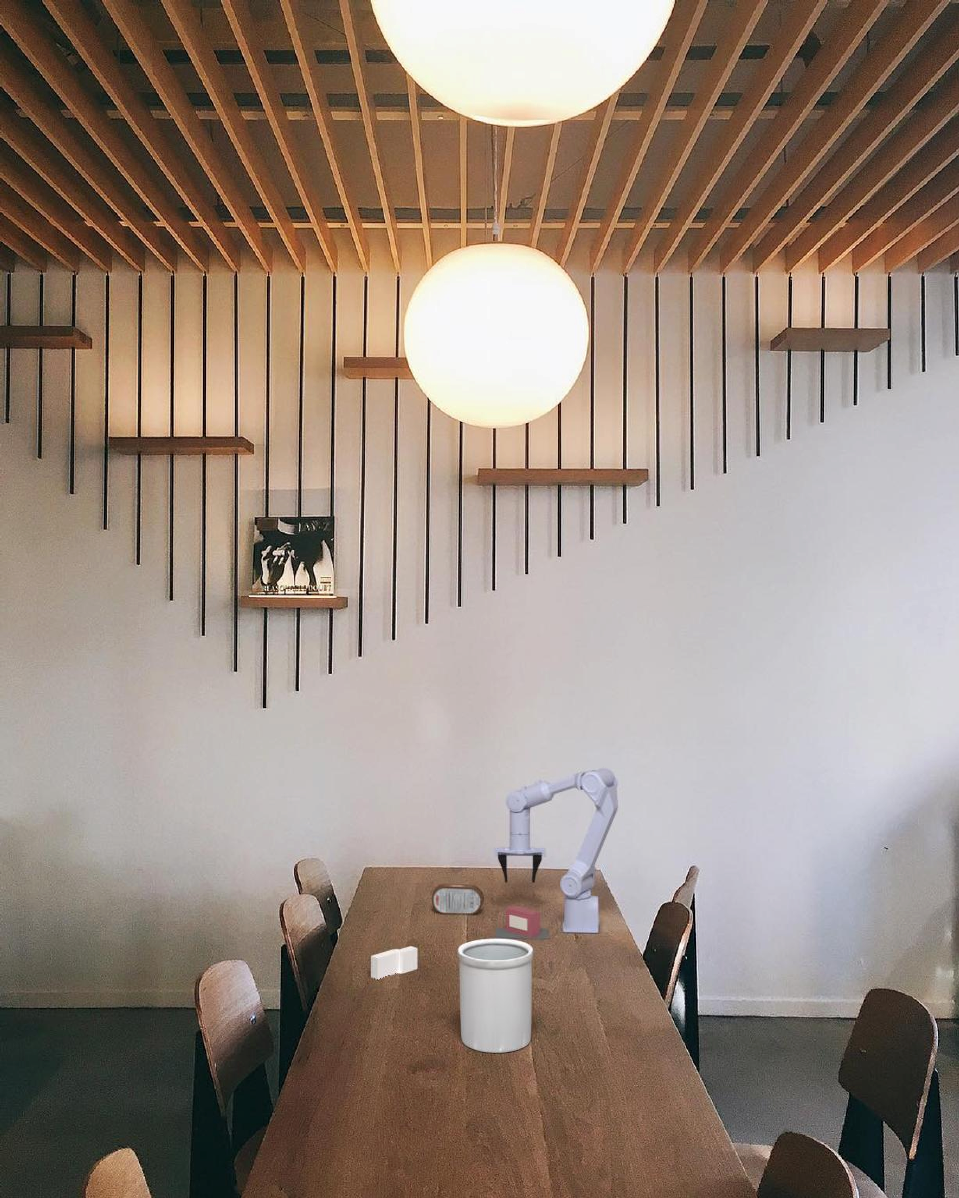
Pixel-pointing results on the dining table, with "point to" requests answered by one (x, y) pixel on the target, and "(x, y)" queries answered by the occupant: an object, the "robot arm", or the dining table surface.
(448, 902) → the tin
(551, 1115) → the dining table surface
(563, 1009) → the dining table surface
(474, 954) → the utensil holder
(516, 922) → the box
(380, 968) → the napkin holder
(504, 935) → the mat
